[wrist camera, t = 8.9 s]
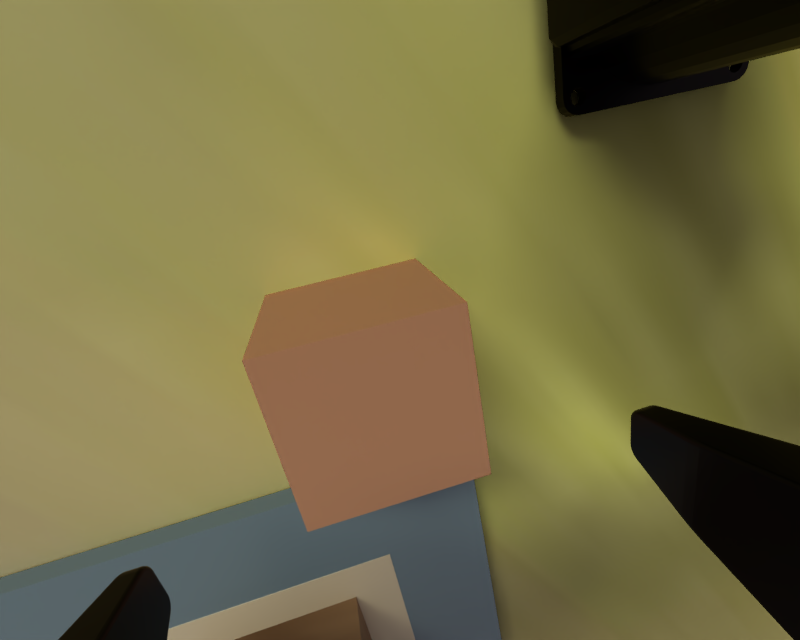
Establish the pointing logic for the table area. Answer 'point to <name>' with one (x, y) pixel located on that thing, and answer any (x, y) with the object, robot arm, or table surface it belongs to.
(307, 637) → the walnut block
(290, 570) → the mat
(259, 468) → the table surface
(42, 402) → the table surface
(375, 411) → the terracotta block
